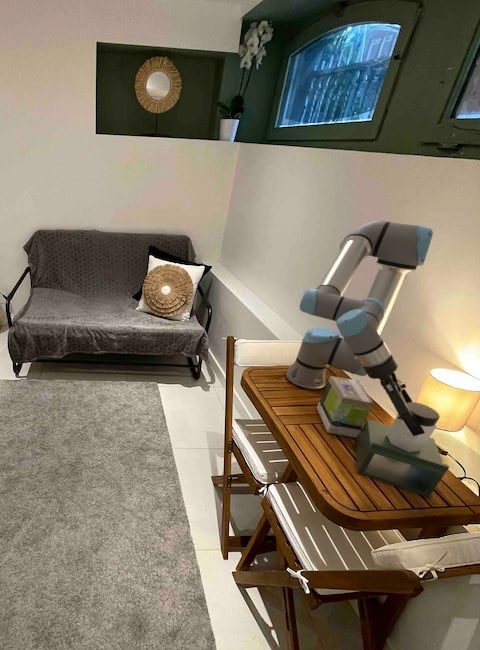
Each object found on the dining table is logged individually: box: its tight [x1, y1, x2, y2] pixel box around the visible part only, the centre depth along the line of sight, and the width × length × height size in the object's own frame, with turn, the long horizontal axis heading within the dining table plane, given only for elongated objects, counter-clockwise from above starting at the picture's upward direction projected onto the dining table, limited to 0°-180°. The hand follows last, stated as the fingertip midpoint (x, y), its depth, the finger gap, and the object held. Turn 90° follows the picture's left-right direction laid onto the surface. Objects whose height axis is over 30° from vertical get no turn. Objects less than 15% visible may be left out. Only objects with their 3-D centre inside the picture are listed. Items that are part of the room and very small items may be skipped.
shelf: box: [354, 418, 450, 498], centre depth 113 cm, size 16×18×12 cm
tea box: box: [316, 375, 375, 438], centre depth 131 cm, size 15×10×15 cm, turn 168°
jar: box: [387, 401, 441, 452], centre depth 108 cm, size 9×8×12 cm
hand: (414, 420), depth 107 cm, fingers open, 13 cm apart
